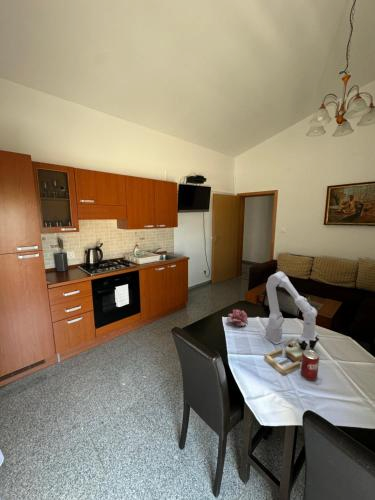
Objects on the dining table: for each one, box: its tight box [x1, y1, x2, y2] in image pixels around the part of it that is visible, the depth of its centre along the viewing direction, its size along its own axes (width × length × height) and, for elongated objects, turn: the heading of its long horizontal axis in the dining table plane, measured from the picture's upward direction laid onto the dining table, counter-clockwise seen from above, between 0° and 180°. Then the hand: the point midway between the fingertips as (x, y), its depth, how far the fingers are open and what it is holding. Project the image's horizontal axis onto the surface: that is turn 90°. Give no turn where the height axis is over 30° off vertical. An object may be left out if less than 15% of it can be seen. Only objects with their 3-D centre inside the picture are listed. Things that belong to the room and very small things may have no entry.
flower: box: [226, 309, 249, 328], centre depth 155 cm, size 15×15×10 cm
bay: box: [263, 348, 302, 376], centre depth 114 cm, size 13×12×3 cm
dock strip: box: [277, 359, 291, 366], centre depth 115 cm, size 2×9×1 cm, turn 114°
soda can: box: [300, 349, 320, 381], centre depth 105 cm, size 7×7×12 cm
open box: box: [284, 345, 304, 363], centre depth 118 cm, size 7×9×4 cm
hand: (307, 350), depth 122 cm, fingers open, 7 cm apart
